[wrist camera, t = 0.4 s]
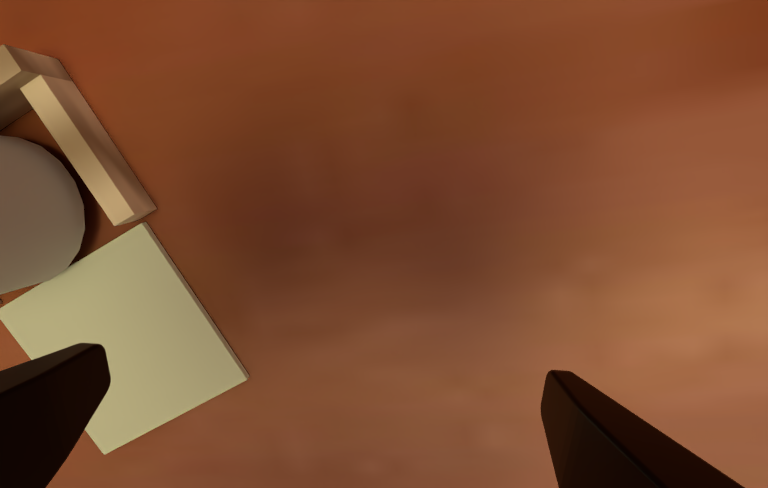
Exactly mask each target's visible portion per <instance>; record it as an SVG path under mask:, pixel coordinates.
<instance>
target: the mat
mask: <svg viewBox="0 0 768 488" xmlns="http://www.w3.org/2000/svg"><path fill="white" fill-rule="evenodd" d="M0 319H1V321H2V322H3V323H4V325H5V326H6V327H7V329H8V330H9V331H10V333H11V334H12V335H13V336H14V338H15V339H16V340H17V342H18V343H19V344H20V346H21V347H22V348H23V350H24V351H25V352H26V353H27V355H28V356H29V357H30V359H31V360H33V359H36V358H39V357H42V356H44V355H47V354H50V353H53V352H56V351H58V350H61V349H64V348H67V347H70V346H72V345H75V344H78V343H95V344H101V345H102V346H103V347H104V348H105V351H106V356H107V361H108V366H109V371H110V376H111V383H110V387H109V389H108V391H107V393H106V395H105V397H104V398H103V400H102V401H101V403H100V405H99V406H98V408H97V410H96V411H95V413H94V415H93V416H92V418H91V420H90V421H89V423H88V425H87V426H86V428H85V430H86V432H87V433H88V434H89V436H90V437H91V438H92V440H93V441H94V442H95V443H96V445H97V446H98V447H99V449H100V450H101V451H102V453H103V454H104V455H105V454H107V453H109V452H111V451H113V450H114V449H116V448H118V447H120V446H122V445H124V444H126V443H128V442H130V441H132V440H134V439H135V438H137V437H139V436H141V435H143V434H145V433H147V432H149V431H151V430H153V429H154V428H156V427H158V426H160V425H162V424H164V423H166V422H168V421H170V420H172V419H174V418H175V417H177V416H179V415H181V414H183V413H185V412H187V411H189V410H191V409H193V408H194V407H196V406H198V405H200V404H202V403H204V402H206V401H208V400H210V399H212V398H214V397H215V396H217V395H219V394H221V393H223V392H225V391H227V390H229V389H231V388H233V387H235V386H236V385H238V384H240V383H242V382H244V381H246V380H247V379H248V378H249V374H248V373H247V371H246V370H245V368H244V367H243V365H242V364H241V362H240V361H239V359H238V358H237V356H236V355H235V354H234V352H233V351H232V349H231V348H230V346H229V345H228V343H227V342H226V340H225V339H224V337H223V336H222V334H221V333H220V331H219V330H218V328H217V327H216V325H215V324H214V322H213V321H212V319H211V318H210V316H209V315H208V313H207V312H206V310H205V309H204V307H203V306H202V304H201V303H200V301H199V300H198V298H197V297H196V295H195V294H194V292H193V291H192V289H191V288H190V287H189V285H188V284H187V282H186V281H185V279H184V278H183V276H182V275H181V273H180V272H179V270H178V269H177V267H176V266H175V264H174V263H173V261H172V260H171V258H170V257H169V255H168V254H167V252H166V251H165V249H164V248H163V246H162V245H161V243H160V242H159V240H158V239H157V237H156V236H155V234H154V233H153V231H152V230H151V228H150V227H149V225H148V224H147V222H143V223H141V224H139V225H137V226H136V227H134V228H132V229H131V230H129V231H127V232H126V233H124V234H122V235H121V236H119V237H117V238H116V239H114V240H113V241H111V242H109V243H108V244H106V245H104V246H103V247H101V248H99V249H98V250H96V251H94V252H93V253H91V254H89V255H88V256H86V257H84V258H83V259H81V260H79V261H78V262H76V263H74V264H73V265H71V266H69V267H68V268H66V269H65V270H64V271H62V272H61V273H59V274H58V275H57V276H55V277H54V278H52V279H51V280H48V281H45V282H43V283H41V284H40V285H38V286H36V287H35V288H33V289H31V290H30V291H28V292H26V293H25V294H23V295H21V296H20V297H18V298H16V299H15V300H13V301H11V302H10V303H8V304H6V305H5V306H3V307H1V308H0Z"/></svg>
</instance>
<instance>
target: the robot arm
mask: <svg viewBox="0 0 768 488" xmlns="http://www.w3.org/2000/svg"><path fill="white" fill-rule="evenodd" d="M110 383H111V376H110V371H109V366H108V361H107V356H106V351H105V348H104V347H103V346H102V345H101V344H95V343H78V344H75V345H72V346H70V347H67V348H64V349H61V350H58V351H56V352H53V353H50V354H47V355H44V356H42V357H39V358H36V359H33V360H30V361H28V362H25V363H22V364H19V365H16V366H14V367H11V368H8V369H5V370H2V371H0V488H46V486H47V485H48V484H49V482H50V481H51V480H52V478H53V477H54V476H55V474H56V473H57V471H58V470H59V469H60V467H61V466H62V464H63V463H64V462H65V460H66V459H67V457H68V456H69V454H70V452H71V451H72V449H73V448H74V446H75V444H76V443H77V441H78V439H79V438H80V436H81V435H82V433H83V431H84V430H85V428H86V426H87V425H88V423H89V421H90V420H91V418H92V416H93V415H94V413H95V411H96V410H97V408H98V406H99V405H100V403H101V401H102V400H103V398H104V397H105V395H106V393H107V391H108V389H109V387H110ZM541 417H542V421H543V425H544V429H545V433H546V437H547V441H548V445H549V450H550V454H551V458H552V462H553V466H554V470H555V474H556V478H557V482H558V486H559V488H745V487H743V486H742V485H740V484H739V483H737V482H736V481H734V480H733V479H731V478H730V477H728V476H727V475H725V474H724V473H722V472H721V471H719V470H718V469H716V468H715V467H713V466H712V465H710V464H709V463H707V462H706V461H704V460H703V459H701V458H700V457H698V456H697V455H695V454H694V453H692V452H691V451H689V450H688V449H686V448H685V447H683V446H682V445H680V444H679V443H677V442H676V441H674V440H673V439H671V438H670V437H668V436H667V435H665V434H664V433H662V432H661V431H659V430H658V429H656V428H655V427H653V426H652V425H650V424H649V423H647V422H646V421H644V420H643V419H641V418H640V417H638V416H637V415H635V414H634V413H632V412H631V411H629V410H628V409H626V408H625V407H623V406H622V405H620V404H619V403H617V402H616V401H614V400H613V399H611V398H610V397H608V396H607V395H605V394H604V393H602V392H601V391H599V390H598V389H596V388H595V387H593V386H592V385H590V384H589V383H587V382H586V381H584V380H583V379H581V378H580V377H578V376H577V375H575V374H574V373H572V372H570V371H561V370H551V371H549V372H548V374H547V376H546V380H545V386H544V391H543V396H542V401H541Z"/></svg>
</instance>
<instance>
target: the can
mask: <svg viewBox="0 0 768 488" xmlns="http://www.w3.org/2000/svg"><path fill="white" fill-rule="evenodd" d="M84 231H85V219H84V204H83V202H82V199H81V196H80V193H79V191H78V188H77V185H76V182H75V181H74V179H73V178H72V177H71V175H70V174H69V172H68V171H67V170H66V168H65V167H64V166H63V164H62V163H61V161H59V160H58V159H57V158H56V157H54V156H53V155H52V154H50V153H49V152H48V151H47V150H45V149H44V148H43V147H42V146H40V145H37V144H35V143H32V142H29V141H27V140H24V139H22V138H19V137H11V136H0V294H4V293H7V292H11V291H14V290H17V289H21V288H24V287H28V286H31V285H35V284H38V283H41V282H45V281H48V280H51V279H52V278H54V277H55V276H57V275H58V274H59V273H61V272H62V271H64V270H65V269H66V268H68V266H69V265H70V263H71V262H72V260H73V259H74V257H75V256H76V254H77V253H78V252H79V250H80V246H81V242H82V238H83V235H84Z"/></svg>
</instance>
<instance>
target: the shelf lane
mask: <svg viewBox="0 0 768 488" xmlns="http://www.w3.org/2000/svg"><path fill="white" fill-rule="evenodd" d="M33 108H34V110H35V111H36V113H37V114H38V116H39V117H40V119H41V120H42V122H43V123H44V124H45V126H46V127H47V129H48V130H49V132H50V133H51V135H52V136H53V138H54V139H55V140H56V142H57V143H58V145H59V146H60V148H61V149H62V151H63V152H64V154H65V155H66V157H67V158H68V159H69V161H70V162H71V164H72V165H73V167H74V168H75V170H76V171H77V173H78V174H79V175H80V177H81V178H82V180H83V181H84V183H85V184H86V186H87V187H88V189H89V190H90V191H91V193H92V194H93V196H94V197H95V199H96V200H97V202H98V203H99V205H100V206H101V207H102V209H103V210H104V212H105V213H106V215H107V216H108V218H109V219H110V221H111V222H112V224H113V225H114V226H117V225H121V224H125V223H129V222H133V221H137V220H140V219H141V218H143V217H144V216H146V215H148V214H149V213H151V212H153V211H154V210H156V209H157V208H156V206H155V205H154V203H153V202H152V200H151V199H150V197H149V196H148V194H147V193H146V191H145V190H144V188H143V187H142V185H141V184H140V182H139V181H138V179H137V178H136V176H135V175H134V173H133V171H132V170H131V168H130V167H129V165H128V164H127V162H126V161H125V159H124V158H123V156H122V155H121V153H120V152H119V150H118V149H117V147H116V146H115V144H114V143H113V141H112V140H111V138H110V137H109V135H108V134H107V132H106V131H105V129H104V128H103V126H102V125H101V123H100V122H99V120H98V119H97V117H96V116H95V114H94V113H93V111H92V110H91V108H90V107H89V105H88V104H87V102H86V101H85V99H84V98H83V96H82V95H81V93H80V92H79V90H78V89H77V87H76V86H75V84H74V83H73V81H72V80H71V78H70V76H69V75H68V73H67V72H66V70H65V69H64V67H63V66H62V64H61V63H60V61H59V60H58V59H56V58H52V57H49V56H45V55H41V54H38V53H34V52H30V51H27V50H23V49H19V48H16V47H12V46H8V45H5V44H3V45H2V46H0V130H2V129H3V128H5V127H6V126H8V125H9V124H11V123H12V122H14V121H15V120H17V119H18V118H20V117H21V116H23V115H24V114H26V113H27V112H29V111H30V110H31V109H33ZM1 303H2V301H1V300H0V304H1Z"/></svg>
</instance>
